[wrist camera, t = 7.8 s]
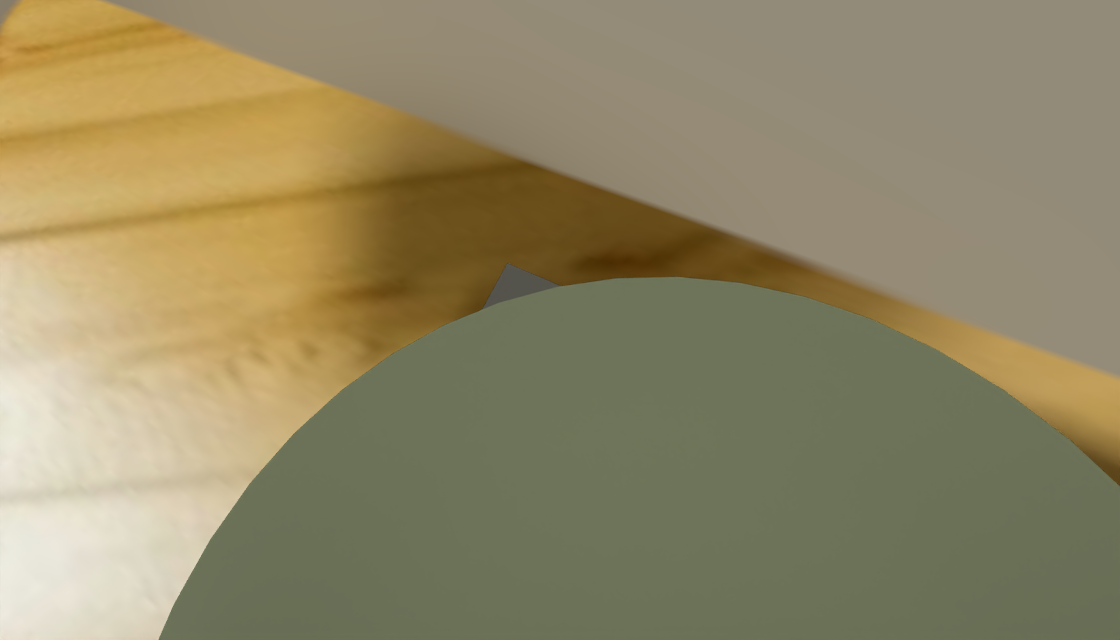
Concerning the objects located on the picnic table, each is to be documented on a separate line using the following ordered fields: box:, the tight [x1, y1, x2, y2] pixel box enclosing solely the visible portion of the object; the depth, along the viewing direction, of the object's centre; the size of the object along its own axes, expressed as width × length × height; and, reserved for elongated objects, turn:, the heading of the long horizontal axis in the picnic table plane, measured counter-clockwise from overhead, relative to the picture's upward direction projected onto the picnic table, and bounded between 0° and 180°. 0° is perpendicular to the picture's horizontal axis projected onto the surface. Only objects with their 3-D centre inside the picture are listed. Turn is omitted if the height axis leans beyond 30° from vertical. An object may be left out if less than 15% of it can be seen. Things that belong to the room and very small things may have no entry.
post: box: [159, 277, 1120, 640], centre depth 7 cm, size 5×5×11 cm
